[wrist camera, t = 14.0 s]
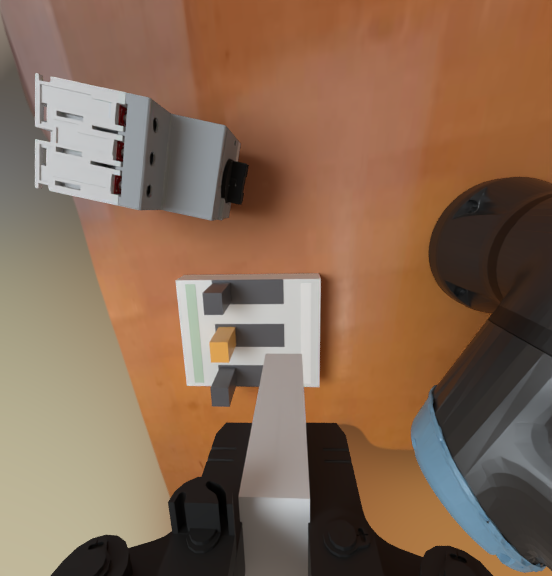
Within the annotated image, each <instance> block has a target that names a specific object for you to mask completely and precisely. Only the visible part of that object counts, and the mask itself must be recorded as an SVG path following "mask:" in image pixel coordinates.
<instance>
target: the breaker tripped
mask: <svg viewBox="0 0 552 576" xmlns="http://www.w3.org/2000/svg"><path fill="white" fill-rule="evenodd" d="M209 345H210V357H211V363H229V362H230V359H231V357H232V354H233V352H234V349H235V347H236V333H235V327H218V329H217V331H216V332H215V334H214V335H213V337H212V339H211V340H210V342H209Z"/></svg>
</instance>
